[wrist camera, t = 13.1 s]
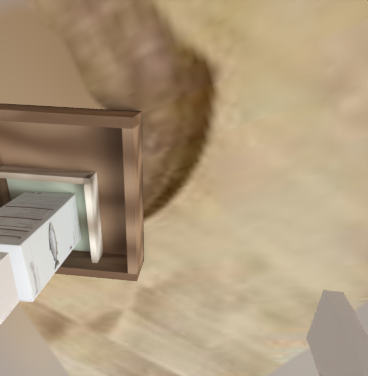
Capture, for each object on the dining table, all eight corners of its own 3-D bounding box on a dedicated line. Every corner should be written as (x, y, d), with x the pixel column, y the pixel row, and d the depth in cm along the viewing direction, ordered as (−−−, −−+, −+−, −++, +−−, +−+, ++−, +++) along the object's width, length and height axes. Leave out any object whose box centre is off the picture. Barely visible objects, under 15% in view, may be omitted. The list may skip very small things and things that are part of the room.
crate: (-16, 102, 36) (-46, 107, 31) (141, 111, 34) (132, 117, 30) (16, 249, 44) (-4, 267, 40) (143, 260, 43) (136, 281, 39)
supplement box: (83, 238, 41) (34, 305, 30) (34, 234, 42) (-33, 298, 30) (77, 192, 38) (20, 245, 27) (25, 188, 39) (-54, 239, 27)
